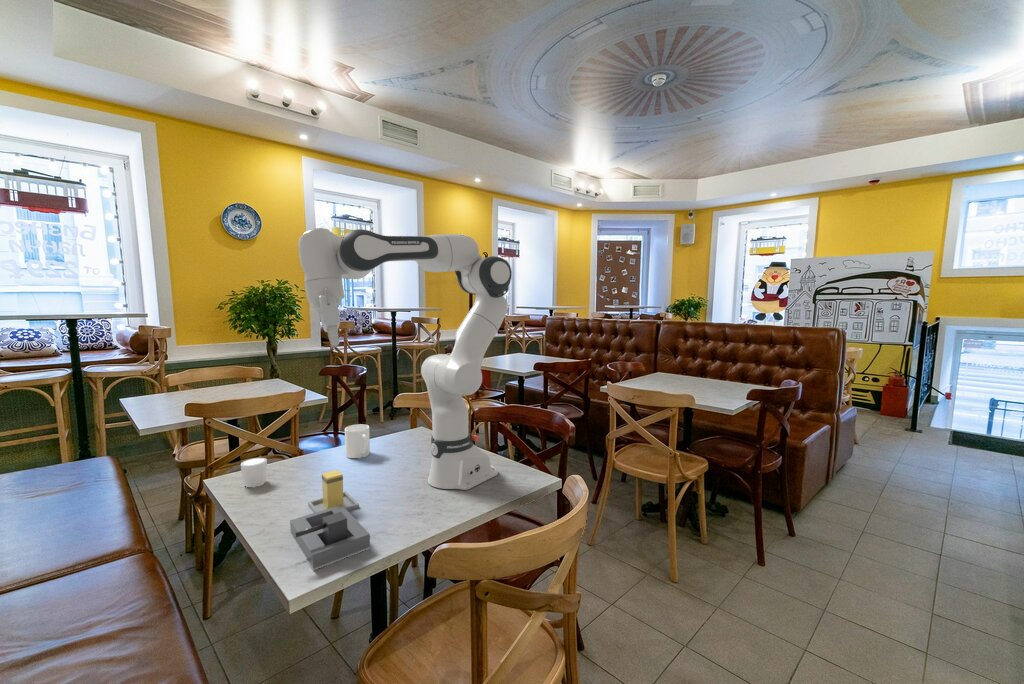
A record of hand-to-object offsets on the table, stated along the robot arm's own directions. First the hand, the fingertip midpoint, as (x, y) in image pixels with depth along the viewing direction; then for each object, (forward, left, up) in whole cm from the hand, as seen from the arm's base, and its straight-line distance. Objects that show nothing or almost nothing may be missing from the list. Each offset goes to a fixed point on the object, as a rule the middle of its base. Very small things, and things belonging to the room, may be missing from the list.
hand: (335, 346), depth 107 cm
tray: (+1, -2, -44) cm, 44 cm away
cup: (-19, -35, -44) cm, 60 cm away
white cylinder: (+14, -33, -44) cm, 57 cm away
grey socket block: (+7, +13, -44) cm, 46 cm away
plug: (+1, -2, -44) cm, 44 cm away
